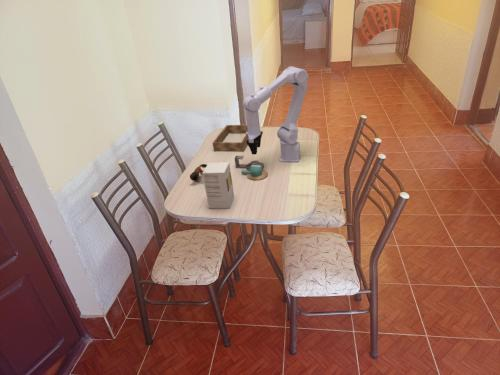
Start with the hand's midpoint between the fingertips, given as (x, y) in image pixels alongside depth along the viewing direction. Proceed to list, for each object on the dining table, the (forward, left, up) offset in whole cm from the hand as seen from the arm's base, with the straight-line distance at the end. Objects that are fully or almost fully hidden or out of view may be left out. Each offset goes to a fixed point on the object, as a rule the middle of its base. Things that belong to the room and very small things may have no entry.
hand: (256, 150), depth 168 cm
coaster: (-1, +6, -10) cm, 12 cm away
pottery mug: (+25, +12, -10) cm, 30 cm away
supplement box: (+9, +30, -10) cm, 33 cm away
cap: (+2, +6, -9) cm, 11 cm away
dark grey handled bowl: (+4, -2, -10) cm, 11 cm away
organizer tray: (+21, -32, -10) cm, 39 cm away
